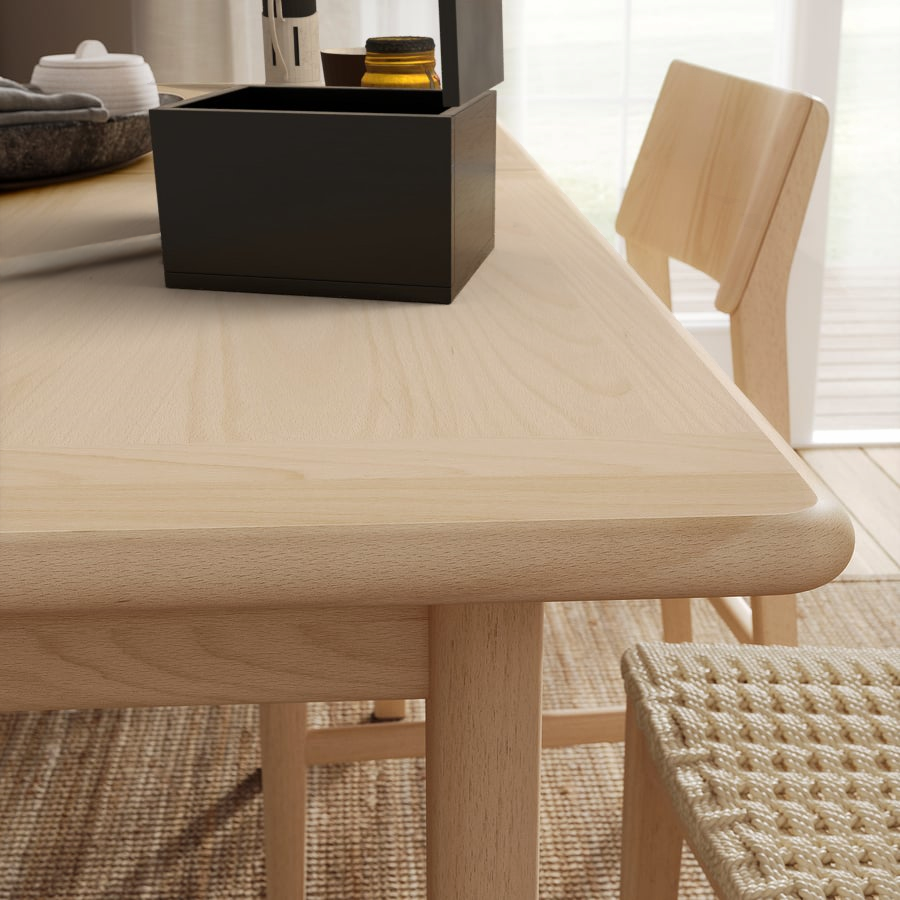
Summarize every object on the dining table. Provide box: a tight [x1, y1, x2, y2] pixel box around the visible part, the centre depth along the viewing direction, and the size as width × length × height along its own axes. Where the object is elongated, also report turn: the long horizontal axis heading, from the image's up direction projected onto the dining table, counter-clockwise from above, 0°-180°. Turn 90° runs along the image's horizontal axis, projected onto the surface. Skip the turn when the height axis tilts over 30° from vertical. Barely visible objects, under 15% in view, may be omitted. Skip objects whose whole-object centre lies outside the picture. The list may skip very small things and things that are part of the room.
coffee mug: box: [319, 46, 367, 87], centre depth 102 cm, size 12×9×10 cm
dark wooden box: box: [148, 84, 498, 305], centre depth 70 cm, size 17×14×10 cm
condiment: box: [361, 35, 442, 89], centre depth 90 cm, size 7×8×12 cm
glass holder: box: [261, 0, 324, 86], centre depth 162 cm, size 9×14×15 cm, turn 172°
